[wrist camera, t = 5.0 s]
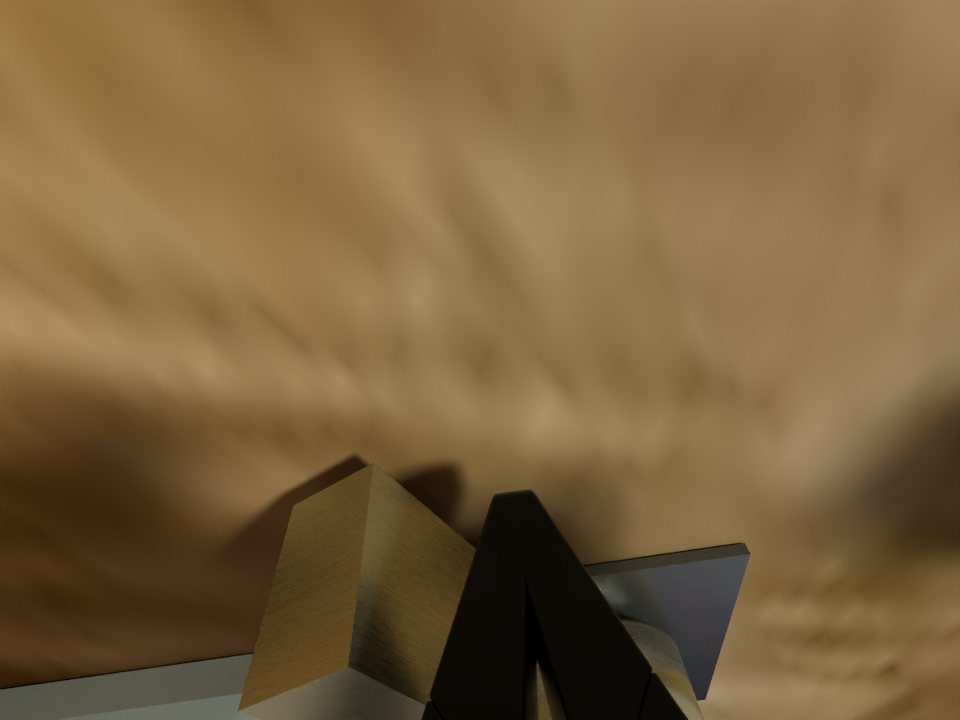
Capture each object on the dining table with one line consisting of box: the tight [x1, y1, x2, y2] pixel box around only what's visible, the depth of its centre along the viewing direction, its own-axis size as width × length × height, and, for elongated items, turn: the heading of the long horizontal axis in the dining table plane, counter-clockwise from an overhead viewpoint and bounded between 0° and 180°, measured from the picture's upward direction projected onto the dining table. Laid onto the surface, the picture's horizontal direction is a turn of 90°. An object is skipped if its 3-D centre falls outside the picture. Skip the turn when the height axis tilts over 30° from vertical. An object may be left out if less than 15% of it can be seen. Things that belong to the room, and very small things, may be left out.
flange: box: [584, 543, 750, 701], centre depth 16 cm, size 9×9×1 cm
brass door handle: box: [238, 463, 704, 720], centre depth 12 cm, size 14×6×4 cm, turn 33°
